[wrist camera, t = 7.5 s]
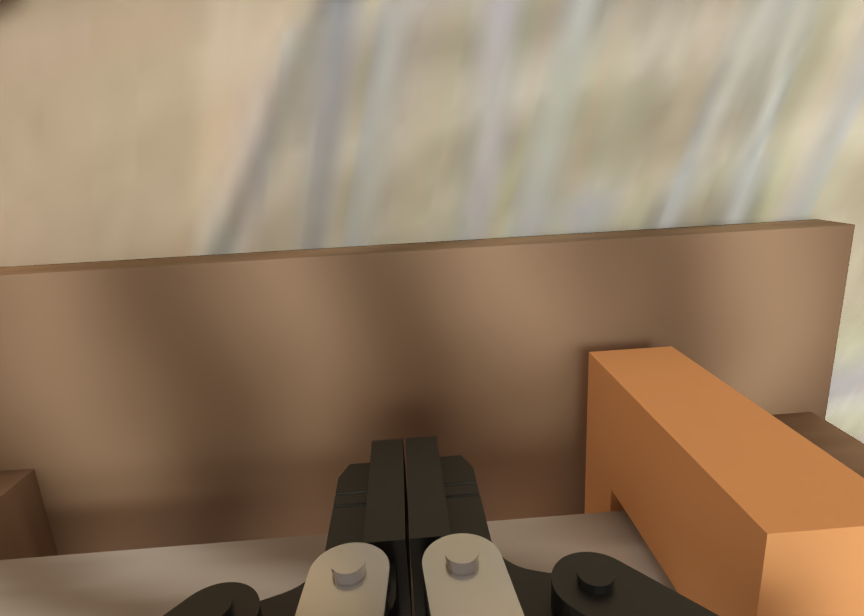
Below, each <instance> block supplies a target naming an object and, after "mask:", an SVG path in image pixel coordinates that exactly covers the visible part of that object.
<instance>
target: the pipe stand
mask: <svg viewBox="0 0 864 616" xmlns="http://www.w3.org/2000/svg"><path fill="white" fill-rule="evenodd" d="M854 227H855V225H853V224H846V223H839V222H832V221H825V220H818V219H816V220H799V221H782V222H765V223H748V224H731V225H714V226H697V227H680V228H663V229H646V230H629V231H612V232H595V233H578V234H561V235H544V236H527V237H510V238H493V239H476V240H459V241H442V242H425V243H408V244H391V245H374V246H357V247H340V248H323V249H306V250H289V251H272V252H255V253H238V254H221V255H204V256H187V257H170V258H153V259H136V260H119V261H102V262H85V263H68V264H51V265H34V266H17V267H0V616H163V615H165V614H166V613H167V612H169V611H170V610H171V609H173V608H174V607H176V606H177V605H178V604H180V603H181V602H183V601H184V600H185V599H187V598H188V597H190V596H191V595H193V594H194V593H196V592H198V591H200V590H202V589H204V588H206V587H209V586H211V585H215V584H219V583H224V582H239V583H243V584H246V585H249V586H251V587H252V588H253V589H254V590H255V591H256V592H257V594H258V596H259V599H260V601H261V600H264V599H267V598H270V597H273V596H276V595H279V594H282V593H284V592H287V591H289V590H292V589H294V588H296V587H298V586H299V585H301V584H302V583H304V582H305V581H306V578H307V575H308V572H309V570H310V567H311V565H312V564H313V562H314V561H315V560H316V559H317V558H318V557H319V556H320V555H321V554H323V553H324V552H325V548H326V543H327V537H328V532H329V526H330V521H331V515H332V510H333V504H334V499H335V496H336V488H337V482H338V478H339V476H340V475H341V474H342V473H343V472H344V470H345V469H346V468H347V467H348V466H349V465H350V464H357V463H370V457H371V446H372V441H373V440H386V439H399V438H403V443H404V456H405V470H406V483H407V460H406V438H410V437H423V436H437V443H438V450H439V456H440V457H444V456H456V455H461V456H462V457H463V458H464V459H465V460H466V461H467V462H468V463H469V464H471V465H472V466H473V469H474V473H475V477H476V482H477V485H478V489H479V494H480V497H481V501H482V505H483V509H484V513H485V517H486V521H487V525H488V529H489V533H490V537H491V541H492V543H493V544H494V545H495V546H496V547H497V548H498V549H499V551H500V553H501V555H502V557H503V558H504V559H506V560H507V561H509V562H511V563H513V564H515V565H517V566H519V567H522V568H525V569H530V570H535V571H541V572H547V573H552V570H553V567H554V566H555V564H556V563H557V562H558V561H559V560H560V559H561V558H563V557H565V556H567V555H569V554H572V553H577V552H596V553H601V554H605V555H608V556H611V557H613V558H615V559H617V560H619V561H621V562H623V563H624V564H626V565H628V566H630V567H632V568H633V569H635V570H637V571H639V572H641V573H643V574H644V575H646V576H648V577H650V578H652V579H654V580H655V581H657V582H659V583H661V584H663V585H664V586H666V587H668V588H670V589H672V590H674V591H675V592H677V591H676V589H675V587H674V586H673V584H672V583H671V581H670V580H669V578H668V577H667V575H666V573H665V572H664V570H663V569H662V567H661V566H660V564H659V562H658V561H657V559H656V558H655V556H654V555H653V553H652V552H651V550H650V548H649V547H648V545H647V544H646V542H645V541H644V539H643V538H642V536H641V534H640V533H639V531H638V530H637V528H636V527H635V525H634V523H633V522H632V520H631V519H630V517H629V516H628V514H627V513H626V511H625V510H624V511H611V512H599V513H586V514H584V512H585V475H586V438H587V401H588V364H589V352H595V351H609V350H624V349H639V348H654V347H669V346H672V347H673V348H675V349H676V350H678V351H679V352H681V353H682V354H684V355H685V356H687V357H688V358H689V359H691V360H692V361H694V362H695V363H697V364H698V365H700V366H701V367H703V368H704V369H706V370H707V371H708V372H710V373H711V374H713V375H714V376H716V377H717V378H719V379H720V380H722V381H723V382H724V383H726V384H727V385H729V386H730V387H732V388H733V389H735V390H736V391H738V392H739V393H741V394H742V395H743V396H745V397H746V398H748V399H749V400H751V401H752V402H754V403H755V404H757V405H758V406H759V407H761V408H762V409H764V410H765V411H767V412H768V413H770V414H771V415H773V416H774V417H776V418H777V419H778V420H780V421H781V422H783V423H784V424H786V425H787V426H789V427H790V428H792V429H793V430H794V431H796V432H797V433H799V434H800V435H802V436H803V437H805V438H806V439H808V440H809V441H810V442H812V443H813V444H815V445H816V446H818V447H819V448H821V449H822V450H824V451H825V452H827V453H828V454H829V455H831V456H832V457H834V458H835V459H837V460H838V461H840V462H841V463H843V464H844V465H845V466H847V467H848V468H850V469H851V470H853V471H854V472H856V473H857V474H859V475H860V476H862V477H863V478H864V444H863V443H861V442H860V441H858V440H857V439H855V438H853V437H852V436H850V435H848V434H847V433H845V432H844V431H842V430H840V429H839V428H837V427H835V426H834V425H832V424H830V423H829V422H827V421H826V420H825V415H826V409H827V402H828V396H829V389H830V383H831V376H832V370H833V363H834V357H835V351H836V344H837V338H838V331H839V325H840V318H841V312H842V305H843V299H844V292H845V286H846V279H847V273H848V266H849V260H850V253H851V247H852V240H853V234H854ZM407 497H408V489H407ZM410 564H411V556H410ZM411 592H412V616H415V611H414V597H413V583H412V569H411ZM677 593H678V592H677Z"/></svg>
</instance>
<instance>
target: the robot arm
mask: <svg viewBox="0 0 864 616" xmlns="http://www.w3.org/2000/svg"><path fill="white" fill-rule="evenodd" d="M406 460H407V483H406V470H405V456H404V443H403V438H399V439H386V440H373V441H372V446H371V457H370V463H357V464H350V465H349V466H348V467H347V468H346V469H345V470H344V472H343V473H342V474H341V475H340V476H339V478H338V482H337V488H336V496H335V499H334V504H333V510H332V515H331V521H330V526H329V532H328V537H327V543H326V548H325V552H324V553H323V554H321V555H320V556H319V557H318V558H317V559H316V560H315V561H314V562H313V564H312V565H311V567H310V570H309V572H308V575H307V578H306V581H305V582H304V583H302V584H301V585H299V586H298V587H296V588H294V589H292V590H289V591H287V592H284V593H282V594H279V595H276V596H273V597H270V598H267V599H264V600H261V601H260V599H259V596H258V594H257V592H256V591H255V590H254V589H253V588H252V587H251V586H249V585H246V584H243V583H239V582H224V583H219V584H215V585H211V586H209V587H206V588H204V589H202V590H200V591H198V592H196V593H194V594H193V595H191V596H190V597H188V598H187V599H185V600H184V601H183V602H181V603H180V604H178V605H177V606H176V607H174V608H173V609H171V610H170V611H169V612H167V613H166V614H165V615H163V616H412V592H411V569H412V583H413V597H414V611H415V616H719V615H717V614H715V613H714V612H712V611H710V610H708V609H706V608H704V607H703V606H701V605H699V604H697V603H695V602H694V601H692V600H690V599H688V598H686V597H684V596H683V595H681V594H679V593H677V592H675V591H674V590H672V589H670V588H668V587H666V586H664V585H663V584H661V583H659V582H657V581H655V580H654V579H652V578H650V577H648V576H646V575H644V574H643V573H641V572H639V571H637V570H635V569H633V568H632V567H630V566H628V565H626V564H624V563H623V562H621V561H619V560H617V559H615V558H613V557H611V556H608V555H605V554H601V553H596V552H577V553H572V554H569V555H567V556H565V557H563V558H561V559H560V560H559V561H558V562H557V563H556V564H555V566H554V567H553V570H552V573H547V572H541V571H535V570H530V569H525V568H522V567H519V566H517V565H515V564H513V563H511V562H509V561H507V560H506V559H504V558H503V557H502V555H501V553H500V551H499V549H498V548H497V547H496V546H495V545H494V544H493V543H492V541H491V537H490V533H489V529H488V525H487V521H486V517H485V513H484V509H483V505H482V501H481V497H480V494H479V489H478V485H477V482H476V477H475V473H474V469H473V466H472V465H471V464H469V463H468V462H467V461H466V460H465V459H464V458H463V457H462V456H461V455H456V456H444V457H440V456H439V450H438V443H437V436H423V437H410V438H406ZM407 489H408V497H407ZM410 556H411V564H410Z"/></svg>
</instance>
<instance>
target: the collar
mask: <svg viewBox="0 0 864 616" xmlns="http://www.w3.org/2000/svg"><path fill="white" fill-rule="evenodd" d="M624 510H625V511H626V513H627V514H628V516H629V517H630V519H631V520H632V522H633V523H634V525H635V527H636V528H637V530H638V531H639V533H640V534H641V536H642V538H643V539H644V541H645V542H646V544H647V545H648V547H649V548H650V550H651V552H652V553H653V555H654V556H655V558H656V559H657V561H658V562H659V564H660V566H661V567H662V569H663V570H664V572H665V573H666V575H667V577H668V578H669V580H670V581H671V583H672V584H673V586H674V587H675V589H676V591H677V592H678V593H679V594H681V595H683V596H684V597H686V598H688V599H690V600H692V601H694V602H695V603H697V604H699V605H701V606H703V607H704V608H706V609H708V610H710V611H712V612H714V613H715V614H717V615H719V616H864V478H863V477H862V476H860V475H859V474H857V473H856V472H854V471H853V470H851V469H850V468H848V467H847V466H845V465H844V464H843V463H841V462H840V461H838V460H837V459H835V458H834V457H832V456H831V455H829V454H828V453H827V452H825V451H824V450H822V449H821V448H819V447H818V446H816V445H815V444H813V443H812V442H810V441H809V440H808V439H806V438H805V437H803V436H802V435H800V434H799V433H797V432H796V431H794V430H793V429H792V428H790V427H789V426H787V425H786V424H784V423H783V422H781V421H780V420H778V419H777V418H776V417H774V416H773V415H771V414H770V413H768V412H767V411H765V410H764V409H762V408H761V407H759V406H758V405H757V404H755V403H754V402H752V401H751V400H749V399H748V398H746V397H745V396H743V395H742V394H741V393H739V392H738V391H736V390H735V389H733V388H732V387H730V386H729V385H727V384H726V383H724V382H723V381H722V380H720V379H719V378H717V377H716V376H714V375H713V374H711V373H710V372H708V371H707V370H706V369H704V368H703V367H701V366H700V365H698V364H697V363H695V362H694V361H692V360H691V359H689V358H688V357H687V356H685V355H684V354H682V353H681V352H679V351H678V350H676V349H675V348H673V347H672V346H669V347H654V348H639V349H624V350H609V351H595V352H589V364H588V401H587V438H586V475H585V512H584V514H586V513H599V512H611V511H624Z"/></svg>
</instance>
